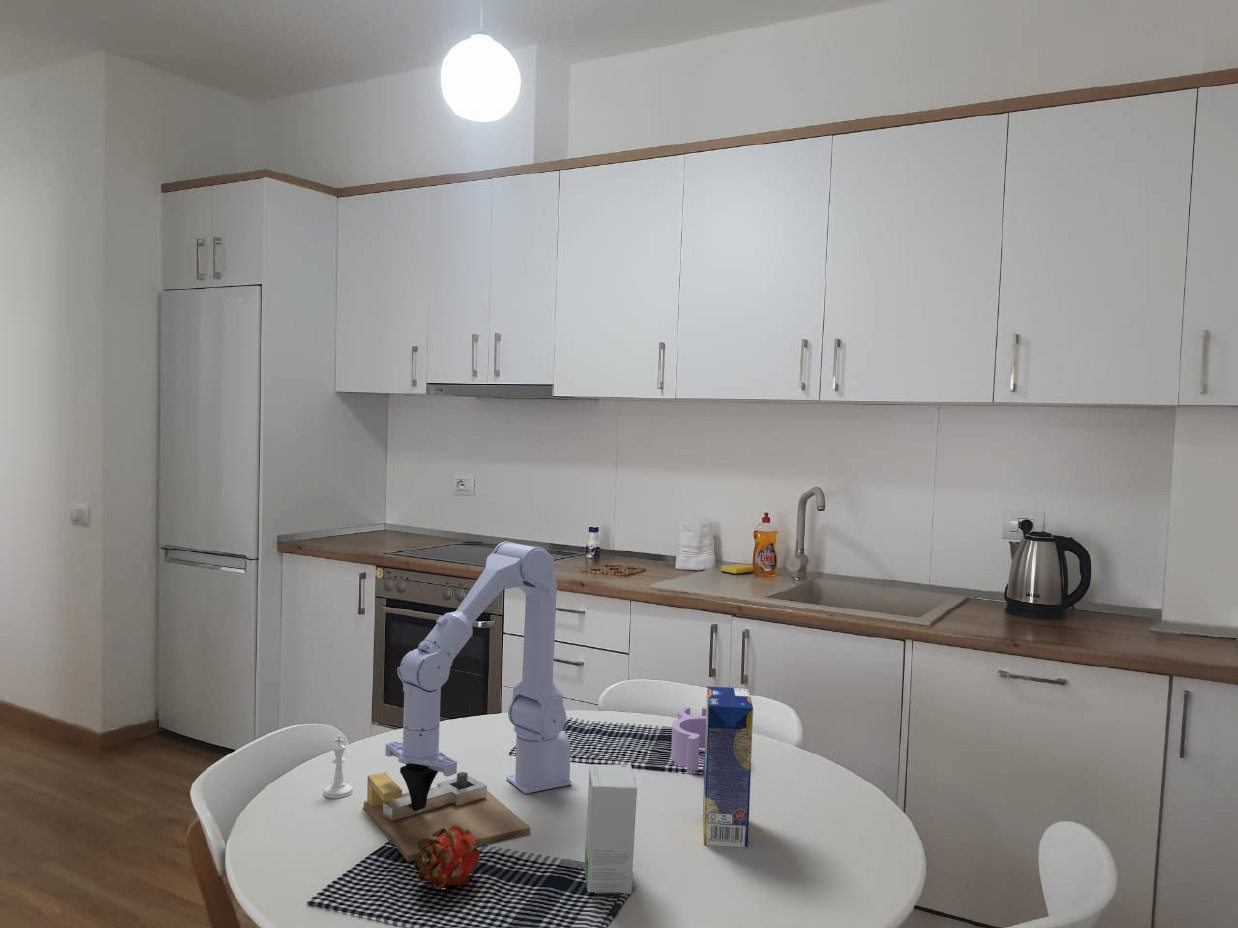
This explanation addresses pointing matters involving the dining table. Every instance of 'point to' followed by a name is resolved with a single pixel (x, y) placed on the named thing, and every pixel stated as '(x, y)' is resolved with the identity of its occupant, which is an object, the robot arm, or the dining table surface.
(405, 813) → the link
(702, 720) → the clip
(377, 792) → the block
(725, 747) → the beverage box
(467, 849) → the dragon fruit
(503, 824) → the board
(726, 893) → the dining table surface
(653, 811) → the dining table surface
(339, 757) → the chess piece
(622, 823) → the skincare box
